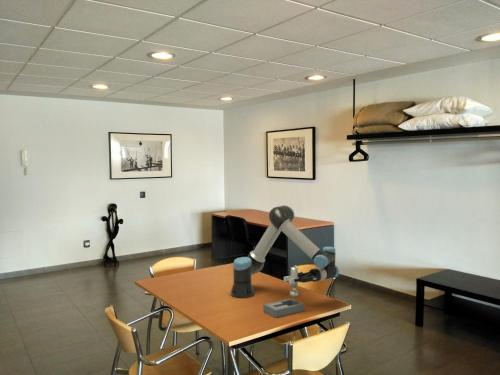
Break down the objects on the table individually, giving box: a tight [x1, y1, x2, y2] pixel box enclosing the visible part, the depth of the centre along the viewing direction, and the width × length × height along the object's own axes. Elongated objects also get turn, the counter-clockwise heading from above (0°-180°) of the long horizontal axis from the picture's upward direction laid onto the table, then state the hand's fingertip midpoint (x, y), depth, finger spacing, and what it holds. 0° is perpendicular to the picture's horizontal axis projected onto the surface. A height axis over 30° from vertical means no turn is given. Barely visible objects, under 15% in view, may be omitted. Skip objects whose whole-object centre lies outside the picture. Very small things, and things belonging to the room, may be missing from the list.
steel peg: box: [289, 266, 299, 298], centre depth 231 cm, size 5×5×16 cm
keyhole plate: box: [262, 298, 305, 319], centre depth 228 cm, size 20×12×4 cm, turn 122°
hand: (286, 280), depth 228 cm, fingers closed on steel peg, 4 cm apart
